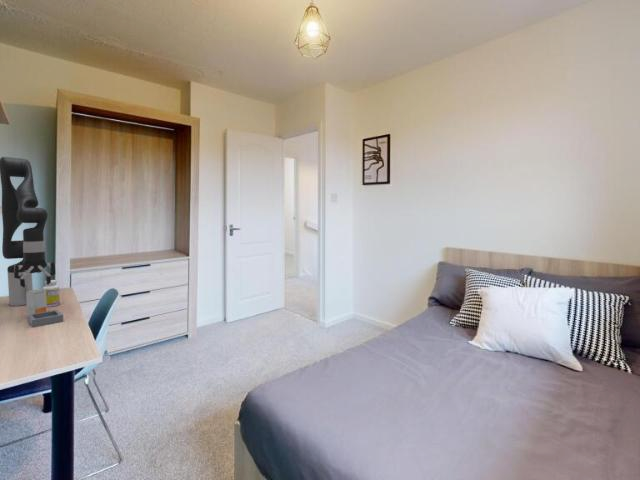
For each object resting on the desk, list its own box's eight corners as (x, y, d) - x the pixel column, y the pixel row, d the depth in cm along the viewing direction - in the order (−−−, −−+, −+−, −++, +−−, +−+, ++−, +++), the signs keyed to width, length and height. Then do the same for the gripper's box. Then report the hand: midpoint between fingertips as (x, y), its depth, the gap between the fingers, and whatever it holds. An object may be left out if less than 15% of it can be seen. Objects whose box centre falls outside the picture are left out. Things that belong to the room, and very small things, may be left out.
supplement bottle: (43, 304, 167) (42, 280, 166) (59, 302, 172) (58, 279, 171) (43, 307, 162) (42, 282, 161) (60, 305, 167) (59, 281, 166)
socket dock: (28, 321, 142) (27, 314, 142) (57, 316, 150) (57, 309, 150) (32, 327, 136) (32, 320, 136) (63, 321, 144) (63, 314, 143)
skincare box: (34, 317, 147) (32, 292, 146) (26, 317, 148) (25, 291, 147) (47, 314, 153) (46, 289, 152) (40, 313, 154) (39, 288, 153)
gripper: (52, 249, 156) (53, 282, 157) (11, 251, 145) (13, 286, 147) (55, 250, 151) (57, 284, 152) (14, 252, 141) (16, 289, 142)
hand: (35, 285), depth 149 cm, fingers open, 8 cm apart
